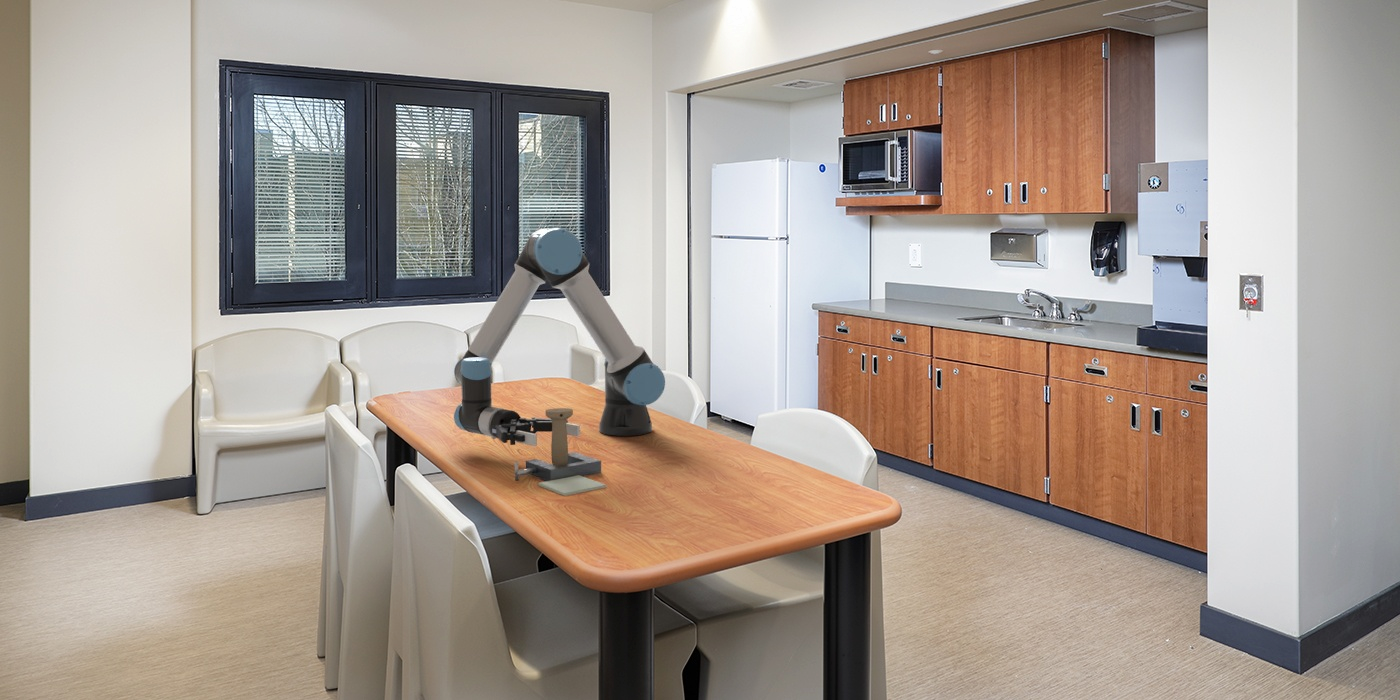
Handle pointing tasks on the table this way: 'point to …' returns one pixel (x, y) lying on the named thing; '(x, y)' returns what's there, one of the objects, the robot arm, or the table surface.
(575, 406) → the table surface
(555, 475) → the vise
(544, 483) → the mat
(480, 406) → the robot arm
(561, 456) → the handle
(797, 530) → the table surface
